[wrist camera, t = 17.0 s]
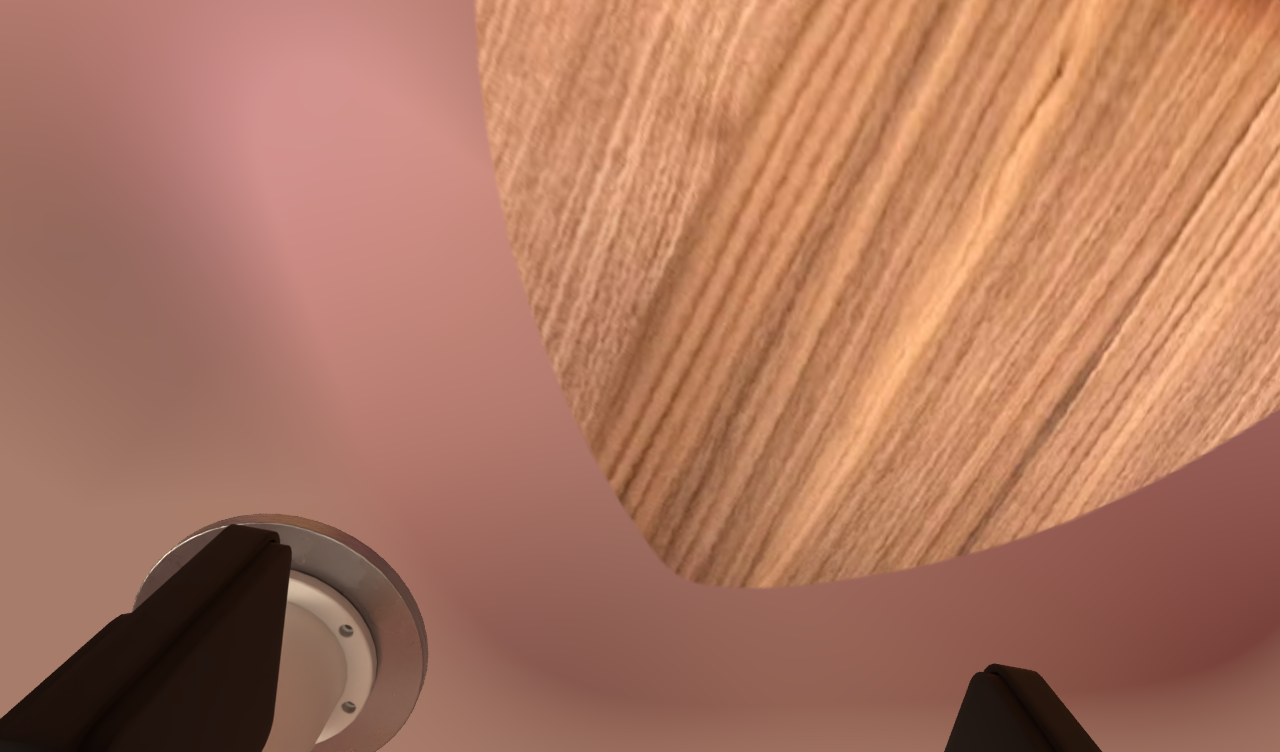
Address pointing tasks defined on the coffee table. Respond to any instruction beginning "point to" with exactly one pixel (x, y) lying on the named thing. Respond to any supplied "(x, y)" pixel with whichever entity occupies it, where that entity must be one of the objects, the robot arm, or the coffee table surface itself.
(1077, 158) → the coffee table surface
